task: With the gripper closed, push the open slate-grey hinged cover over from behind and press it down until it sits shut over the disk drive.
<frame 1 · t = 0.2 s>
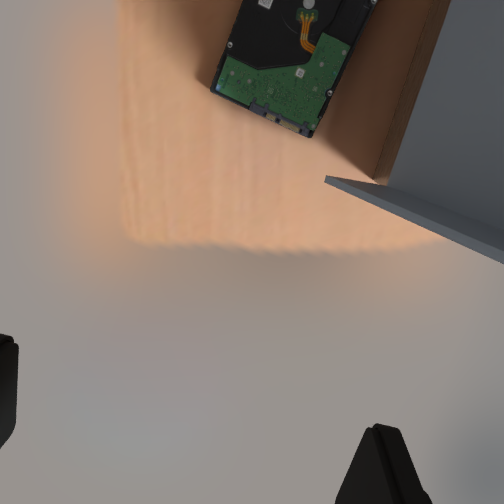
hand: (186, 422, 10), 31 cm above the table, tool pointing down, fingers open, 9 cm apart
hinge block: (422, 67, 35), on the table
disk drive: (295, 37, 35), on the table
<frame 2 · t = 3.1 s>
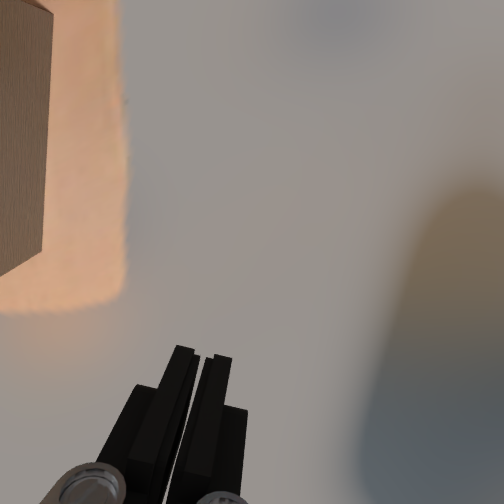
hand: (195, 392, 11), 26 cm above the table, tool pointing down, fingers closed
hinge block: (35, 142, 35), on the table
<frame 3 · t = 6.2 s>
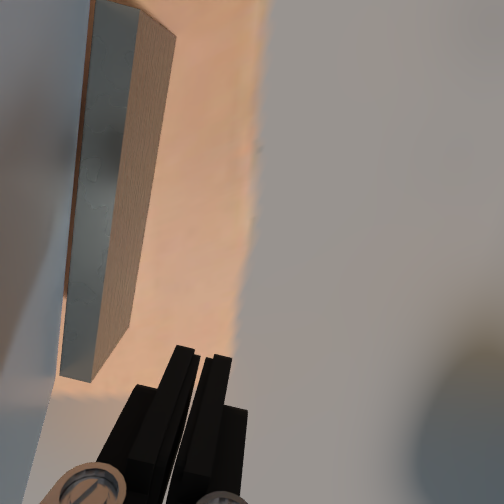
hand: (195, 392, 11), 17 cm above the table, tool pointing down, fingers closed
hinge block: (135, 197, 27), on the table
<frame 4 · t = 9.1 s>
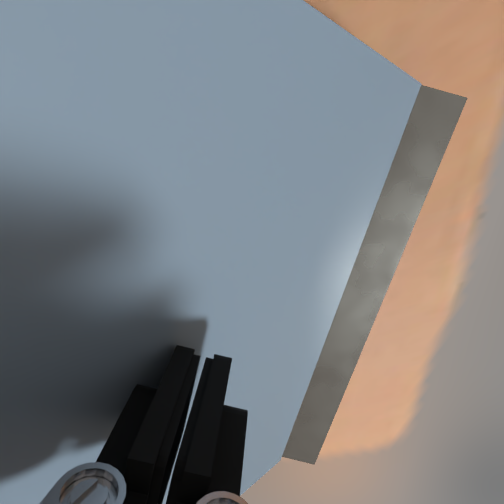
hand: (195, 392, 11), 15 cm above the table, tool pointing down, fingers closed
hinge block: (338, 261, 26), on the table
cover: (114, 322, 14), point 13 cm above the table, hinge at 52.2°, touching gripper
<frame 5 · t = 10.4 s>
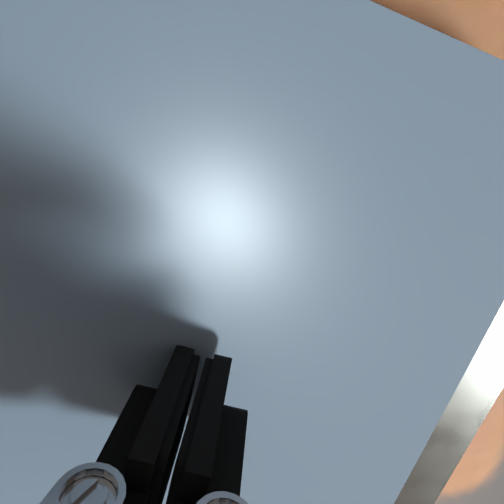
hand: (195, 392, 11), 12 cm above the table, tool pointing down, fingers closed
hinge block: (433, 295, 23), on the table
cover: (221, 314, 15), point 8 cm above the table, hinge at 24.5°, touching gripper
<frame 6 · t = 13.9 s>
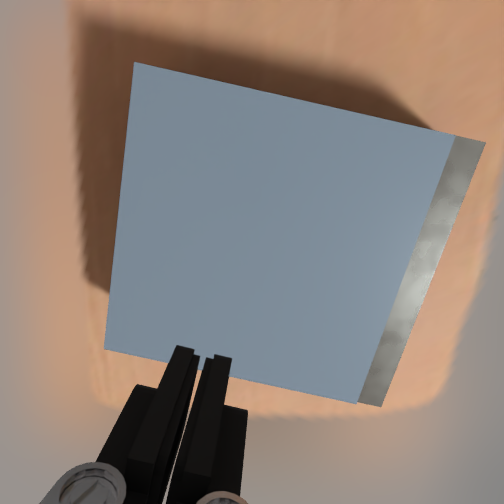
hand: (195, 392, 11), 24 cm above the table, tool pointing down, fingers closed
hinge block: (387, 256, 35), on the table
cover: (261, 240, 31), point 4 cm above the table, hinge at -0.1°
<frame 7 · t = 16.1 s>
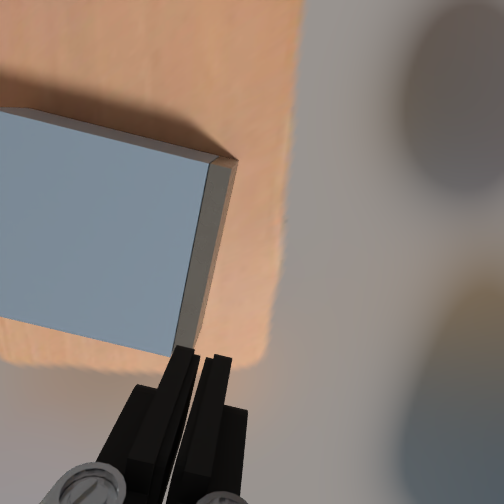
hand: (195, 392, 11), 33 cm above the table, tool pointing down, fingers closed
hinge block: (210, 248, 45), on the table
cover: (100, 234, 41), point 4 cm above the table, hinge at -0.1°
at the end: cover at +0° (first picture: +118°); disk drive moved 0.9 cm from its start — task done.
